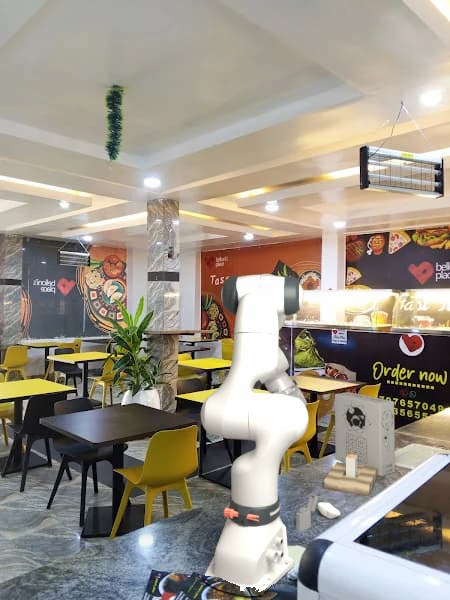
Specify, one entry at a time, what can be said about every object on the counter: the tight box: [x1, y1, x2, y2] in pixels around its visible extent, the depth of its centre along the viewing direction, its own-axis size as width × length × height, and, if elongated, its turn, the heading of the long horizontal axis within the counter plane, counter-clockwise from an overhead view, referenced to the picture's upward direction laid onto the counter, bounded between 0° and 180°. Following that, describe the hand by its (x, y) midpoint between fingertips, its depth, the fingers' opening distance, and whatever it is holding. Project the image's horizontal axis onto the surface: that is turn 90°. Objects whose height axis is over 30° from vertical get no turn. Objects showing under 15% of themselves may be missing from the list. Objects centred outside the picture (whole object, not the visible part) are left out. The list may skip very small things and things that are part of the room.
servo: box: [346, 453, 358, 477], centre depth 157 cm, size 4×3×9 cm
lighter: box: [295, 493, 319, 533], centre depth 127 cm, size 7×2×8 cm, turn 126°
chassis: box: [323, 461, 379, 497], centre depth 157 cm, size 18×14×3 cm
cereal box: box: [334, 391, 396, 477], centre depth 173 cm, size 22×8×25 cm, turn 32°
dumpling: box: [316, 501, 341, 520], centre depth 133 cm, size 7×5×4 cm
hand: (302, 423), depth 160 cm, fingers open, 8 cm apart
